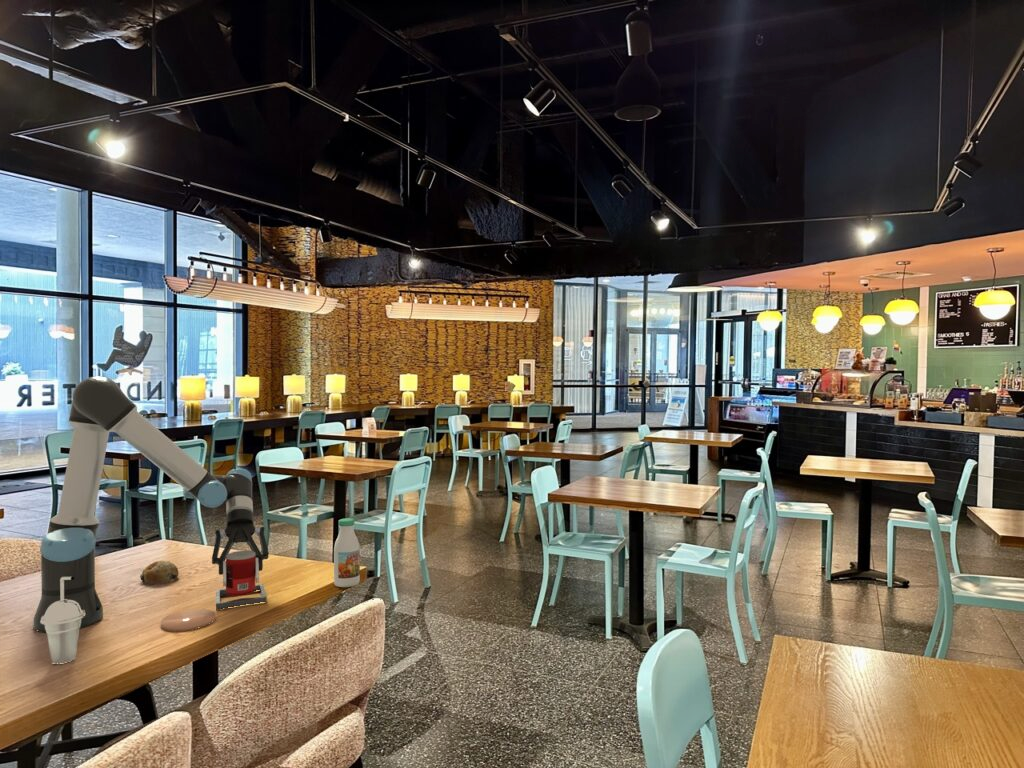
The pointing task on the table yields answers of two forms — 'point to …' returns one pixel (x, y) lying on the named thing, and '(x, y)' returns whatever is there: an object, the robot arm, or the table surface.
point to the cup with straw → (63, 627)
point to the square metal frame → (242, 601)
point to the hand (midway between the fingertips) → (241, 582)
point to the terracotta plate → (187, 620)
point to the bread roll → (159, 573)
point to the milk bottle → (346, 555)
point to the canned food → (240, 573)
